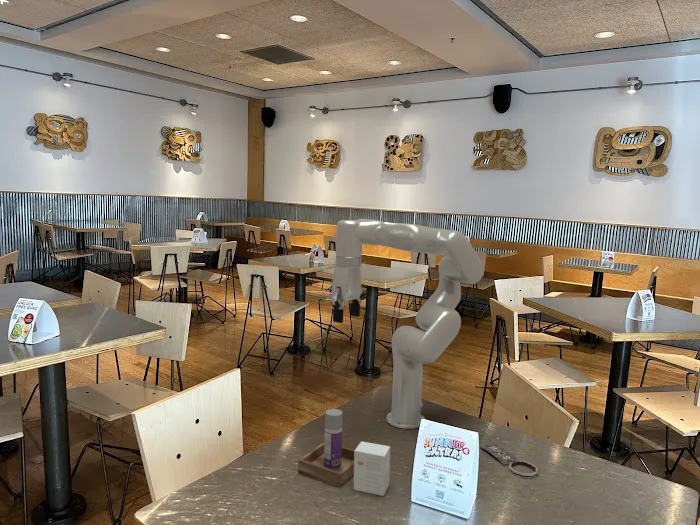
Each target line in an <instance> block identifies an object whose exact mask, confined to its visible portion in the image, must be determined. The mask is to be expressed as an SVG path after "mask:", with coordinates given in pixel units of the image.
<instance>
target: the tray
mask: <svg viewBox="0 0 700 525" xmlns="http://www.w3.org/2000/svg"><path fill="white" fill-rule="evenodd" d="M354 451H355V449H353V448H349V447H346V446H343V445H342V458H341V468H339V469H337V470H331V469H329V468H326V467H324V442H321V443H320V444H319V445H317V446H316V447H314V448H313V449H312V450H310V451H309V452H308V453H306V454H305V455H303V456H302V457H301V458H299V459H298V461H297V466H298V467H297V473H298V474H301V475H303V476H306V477H309V478H312V479H315V480H317V481H320V482H323V483H326V484H329V485H332V486H335V487H338V488H342V487H343V486H344V485H345V484H347V482H348V481H350V480H351V479H352V478H354Z"/></svg>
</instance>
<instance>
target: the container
mask: <svg viewBox="0 0 700 525" xmlns="http://www.w3.org/2000/svg"><path fill="white" fill-rule="evenodd" d="M323 440H324V467H326V468H329V469H331V470H337V469H339V468H341V458H342V446H343V411H342V410H341V409H337V408H331V409H327V410H326V411H325V419H324V439H323Z"/></svg>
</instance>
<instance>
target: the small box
mask: <svg viewBox="0 0 700 525" xmlns="http://www.w3.org/2000/svg"><path fill="white" fill-rule="evenodd" d="M354 450H355V451H354V476H353V490H354V491H358V492H362V493H367V494H372V495H375V496H381V497H384V496H385V495H386V492H387V490H388V488H389V486H390V473H391V472H390V470H391V469H390V468H391V467H390V464H391V462H390V461H391V446H390V445H385V444H378V443H371V442H367V441H360V442H359V444H358V445H357V447H356V448H355V449H354Z"/></svg>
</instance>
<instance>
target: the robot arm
mask: <svg viewBox="0 0 700 525" xmlns="http://www.w3.org/2000/svg"><path fill="white" fill-rule="evenodd" d="M335 231H336V232H335V233H336V234H335V235H336V236H335V237H336V238H335V239H336V240H335V267H334V269H333V270H334V271H333V276H332V284H331V294H330V295H329V299H330V301H331V302H330V304H331V309H332V322H334V323H339V324H343V323H344V313H345V312H344V309H343V307H344V305H345V303H347V302H349V303H350V305H349V316H351V317H356V318H359V317H360V316H361V315H360V314H361V303H362V297H363V292H364V287H363V286H362V273H361V272H362V270H361V268H362V246H363V245H368V246H369V245H371V246H382V247H389V248H391V249H396V250H399V251H406V252H412V253H419V254H428V255H436V256H443V257H442V258H441V260H440V261H439V263H438V276H439V277H438V278H439V279H438V280H439V282H438V286H437V287H436V289H435V290H434V292H433V293H432V295H430V297H429V298H428V299H427V300H426V301H425V303H424V304H423V305H422V306H421V307H420V308H419V309H418V311H417V312H416V315H415V322H416V325H417V326H418V327H419V328H421V329H419V328H417V327H415V326H412V325H402V326H400V327H397V328H396V329H395V331H394V332H393V334H392V337H391V350H392V358H393V369H392V370H393V371H392V372H393V374H392V389H391V390H392V392H391V393H392V394H391V411H390V412H389V413H387V414H386V422H387V423H388V424H389V425H391V426H393V427H395V428H398V429H404V430H408V429H409V430H413V429H418V428H420V427H419V425H420V420H421V419H422V418H424V419H425V420H426V417H425V416H424V415H422V413H421V412H422V407H423V406H424V403H423V402H422V395H423V394H422V392H423V376H424V374H423V373H424V369H423V365H428V364H432V363H433V362H435V361H437V359H438V358H439V357H440V356H441V354H443V352H444V351H445V350H446V348H448V346H449V345H450V344H451V343H452V342H453V341H454V339H455V338H456V337H457V335H458V333H459V332H460V329H461V325H462V318H461V316H460V313H459V312H458V311H457V310H456V308H457V306H458V305H459V303H460V301H461V297H462V289H461V288H462V287H461V284H462V283H463V284H467V285H474V284H477V283H478V282H480V281H481V279H483V276H484V265H483V262H482V260H481V259H480V257H479V256H478V254H477V252H476V251H475V249H474V248H473V246H472V244H471V242H470V241H469V240H468V239H467V237H466V236H465V235H464V234H463V233H462V232H461V231H458V230H453V229H452V230H451V229H445V228H439V227H438V228H437V227H431V226H430V227H429V226H425V225H420V224H413V223H400V222H398V223H395V222H385V221H382V220H378V219H370V218H358V219H356V220H355V219H340V220H339V221H337V224H336V230H335Z"/></svg>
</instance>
